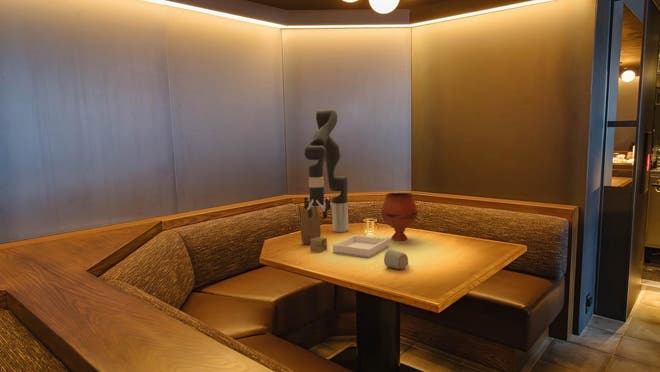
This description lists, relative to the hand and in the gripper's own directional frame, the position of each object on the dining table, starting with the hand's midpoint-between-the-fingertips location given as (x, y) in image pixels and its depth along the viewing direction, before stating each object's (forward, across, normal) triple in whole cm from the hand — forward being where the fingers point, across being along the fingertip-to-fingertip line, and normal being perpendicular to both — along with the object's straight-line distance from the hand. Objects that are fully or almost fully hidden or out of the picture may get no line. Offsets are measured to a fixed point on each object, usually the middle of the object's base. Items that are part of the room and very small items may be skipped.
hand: (317, 217), depth 213 cm
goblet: (+17, -28, -38) cm, 50 cm away
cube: (+17, 0, 0) cm, 17 cm away
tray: (+17, -19, -10) cm, 27 cm away
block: (+17, +12, -11) cm, 23 cm away
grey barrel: (+17, -46, +8) cm, 50 cm away
